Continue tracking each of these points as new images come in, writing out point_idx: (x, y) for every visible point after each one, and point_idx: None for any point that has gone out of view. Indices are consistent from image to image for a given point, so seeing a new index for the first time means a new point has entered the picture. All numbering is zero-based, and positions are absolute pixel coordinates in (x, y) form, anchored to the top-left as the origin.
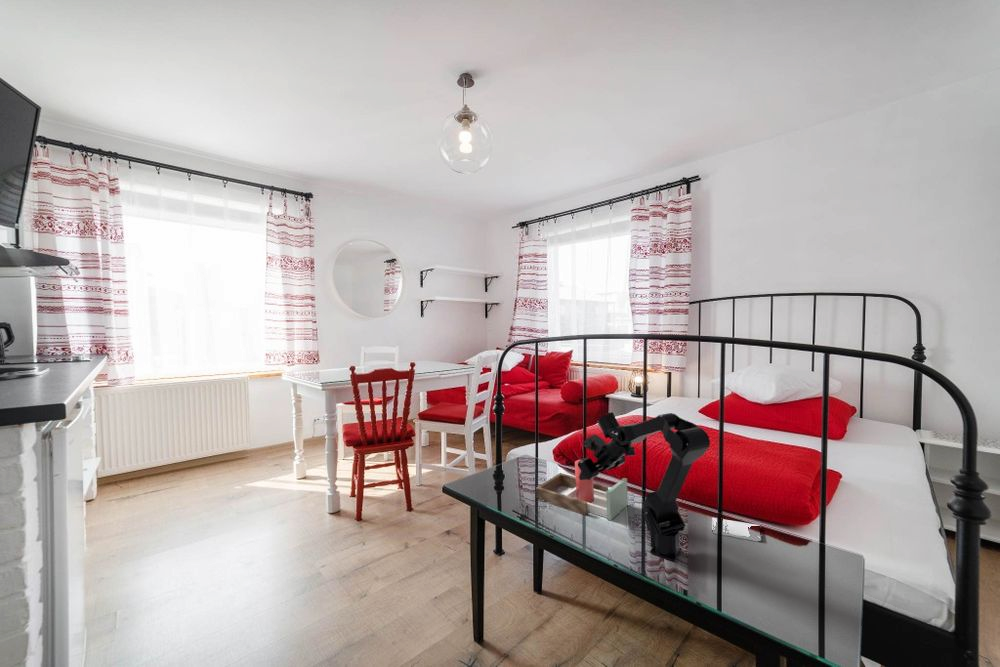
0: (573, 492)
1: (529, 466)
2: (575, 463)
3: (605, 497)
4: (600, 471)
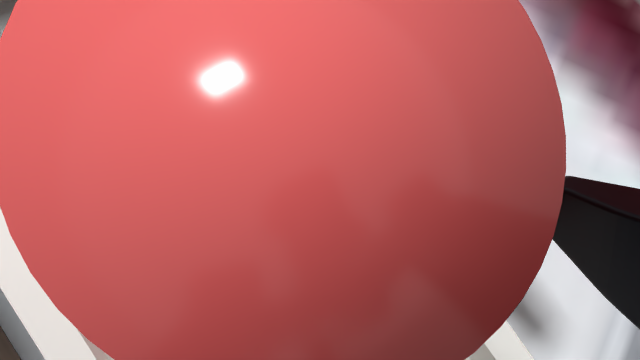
0: None
1: None
2: (15, 43)
3: None
4: (588, 276)
